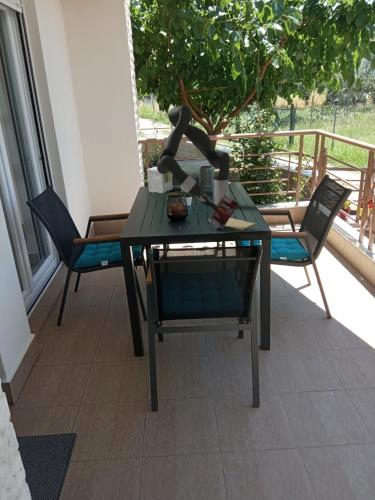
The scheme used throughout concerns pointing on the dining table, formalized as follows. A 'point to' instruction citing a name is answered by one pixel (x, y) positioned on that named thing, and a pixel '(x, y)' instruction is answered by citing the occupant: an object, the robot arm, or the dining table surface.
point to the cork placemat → (238, 224)
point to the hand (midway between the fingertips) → (216, 208)
